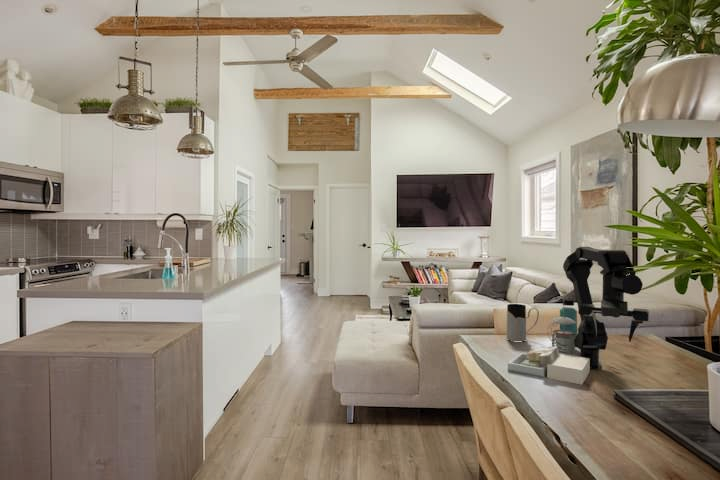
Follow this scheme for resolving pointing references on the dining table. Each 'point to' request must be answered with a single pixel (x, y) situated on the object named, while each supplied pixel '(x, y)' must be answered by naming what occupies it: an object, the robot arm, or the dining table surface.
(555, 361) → the cream riser block
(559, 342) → the french press
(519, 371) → the box
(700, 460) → the dining table surface
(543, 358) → the scraper
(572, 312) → the beverage bottle
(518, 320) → the glass holder
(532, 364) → the sage tile
